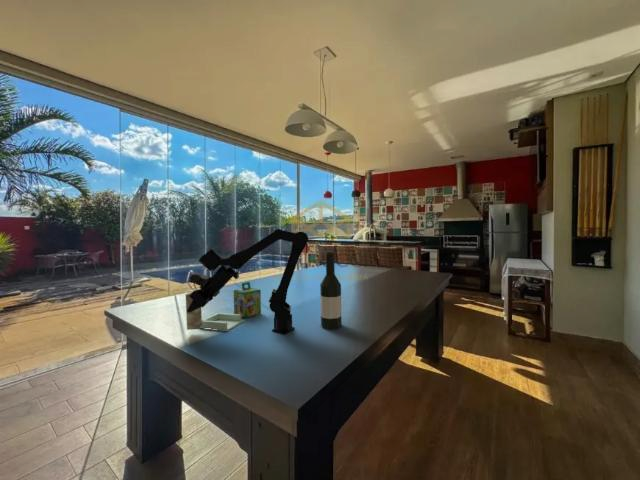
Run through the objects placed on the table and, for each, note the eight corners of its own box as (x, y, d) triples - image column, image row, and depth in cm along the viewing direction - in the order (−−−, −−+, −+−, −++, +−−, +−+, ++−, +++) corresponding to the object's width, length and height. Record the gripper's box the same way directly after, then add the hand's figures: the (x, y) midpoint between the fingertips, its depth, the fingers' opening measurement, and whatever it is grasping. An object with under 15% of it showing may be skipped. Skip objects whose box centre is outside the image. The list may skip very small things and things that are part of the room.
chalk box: (245, 318, 122) (245, 285, 122) (233, 315, 128) (232, 283, 127) (261, 313, 130) (261, 282, 129) (249, 310, 135) (248, 280, 135)
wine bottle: (340, 330, 106) (339, 252, 105) (318, 328, 108) (317, 252, 107) (342, 322, 114) (341, 250, 113) (323, 321, 116) (321, 250, 115)
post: (201, 325, 106) (200, 291, 105) (198, 329, 102) (197, 294, 101) (191, 326, 105) (189, 292, 105) (187, 329, 101) (185, 294, 101)
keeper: (243, 321, 118) (243, 314, 118) (227, 331, 107) (227, 323, 107) (215, 319, 122) (215, 312, 122) (196, 328, 110) (196, 321, 110)
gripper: (210, 262, 112) (183, 290, 112) (194, 268, 94) (161, 302, 93) (231, 280, 113) (204, 308, 113) (218, 290, 95) (186, 323, 94)
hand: (190, 310), depth 103 cm, fingers closed on post, 4 cm apart
